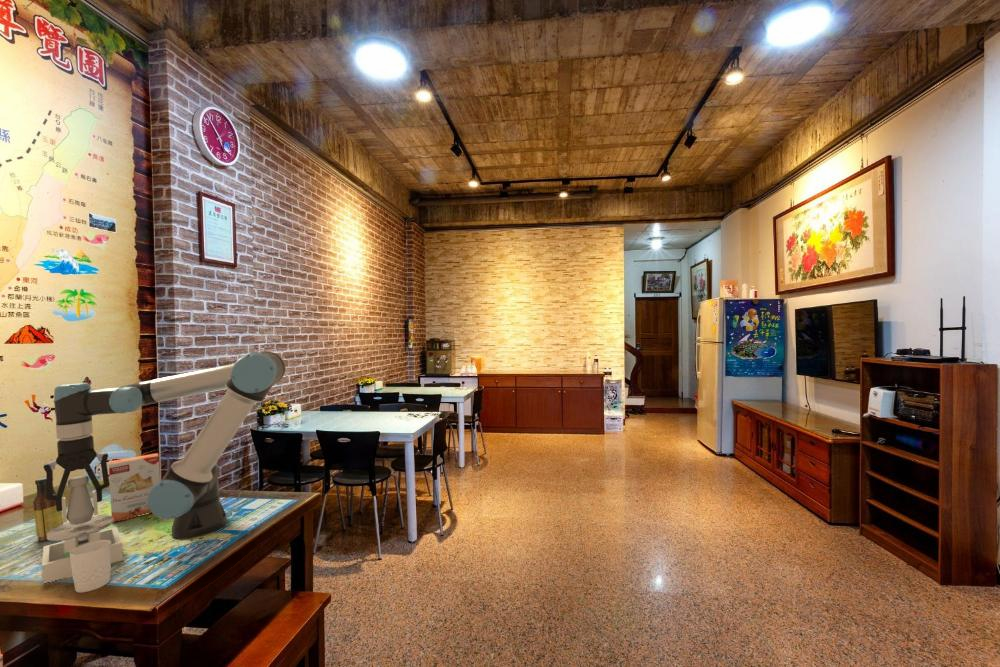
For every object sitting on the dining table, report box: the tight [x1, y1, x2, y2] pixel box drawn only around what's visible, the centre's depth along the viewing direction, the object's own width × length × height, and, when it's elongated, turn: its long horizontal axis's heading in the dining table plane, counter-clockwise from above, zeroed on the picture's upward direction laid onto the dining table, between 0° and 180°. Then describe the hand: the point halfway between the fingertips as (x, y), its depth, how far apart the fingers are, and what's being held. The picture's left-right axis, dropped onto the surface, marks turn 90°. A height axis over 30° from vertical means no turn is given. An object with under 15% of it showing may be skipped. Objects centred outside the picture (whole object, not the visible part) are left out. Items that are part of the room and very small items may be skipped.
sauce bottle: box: [32, 476, 64, 542], centre depth 145 cm, size 6×6×20 cm
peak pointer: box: [78, 538, 88, 545], centre depth 121 cm, size 2×2×1 cm
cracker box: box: [108, 452, 161, 523], centre depth 161 cm, size 14×6×21 cm, turn 129°
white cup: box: [70, 540, 112, 593], centre depth 115 cm, size 8×8×10 cm
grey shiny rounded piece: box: [47, 514, 115, 548], centre depth 127 cm, size 18×14×6 cm
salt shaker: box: [66, 475, 94, 525], centre depth 128 cm, size 6×6×13 cm
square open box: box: [41, 526, 124, 585], centre depth 127 cm, size 17×16×10 cm
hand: (80, 517), depth 128 cm, fingers closed on salt shaker, 6 cm apart
